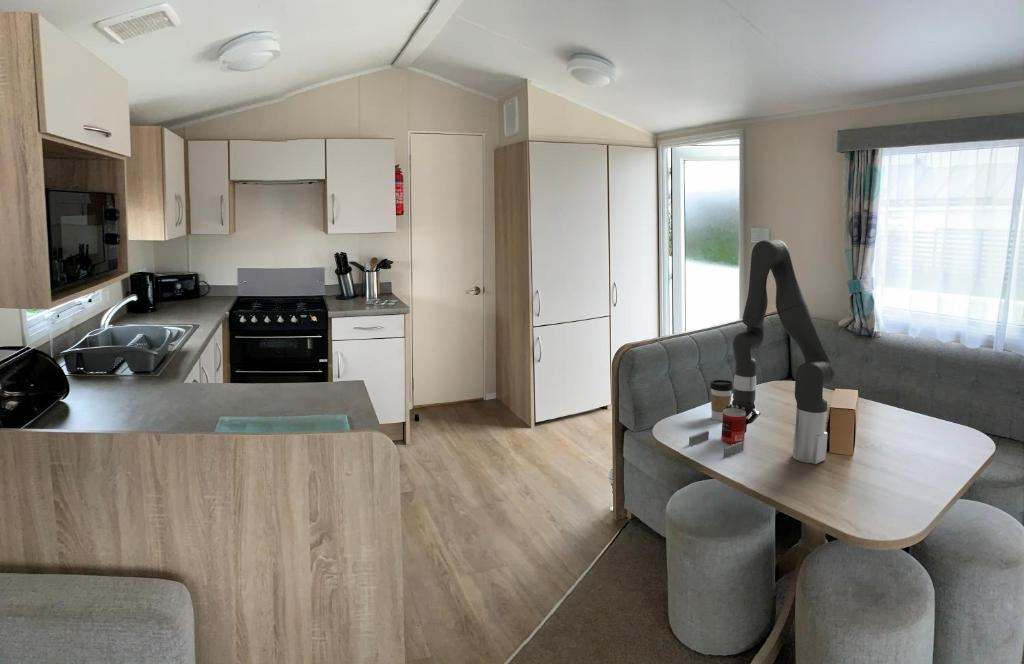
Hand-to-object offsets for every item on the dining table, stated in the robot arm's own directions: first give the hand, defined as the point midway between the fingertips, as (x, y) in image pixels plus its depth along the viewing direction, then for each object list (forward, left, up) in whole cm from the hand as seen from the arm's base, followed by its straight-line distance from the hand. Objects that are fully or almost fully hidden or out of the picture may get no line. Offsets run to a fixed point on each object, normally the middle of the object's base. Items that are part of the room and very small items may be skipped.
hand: (741, 433), depth 252 cm
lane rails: (0, +15, -2) cm, 15 cm away
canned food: (0, +5, -2) cm, 6 cm away
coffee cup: (+17, -12, -2) cm, 21 cm away
